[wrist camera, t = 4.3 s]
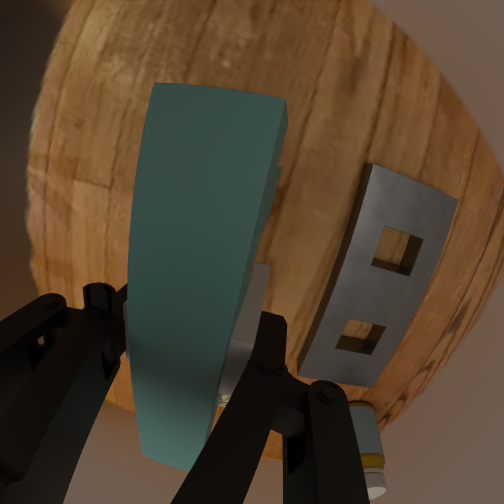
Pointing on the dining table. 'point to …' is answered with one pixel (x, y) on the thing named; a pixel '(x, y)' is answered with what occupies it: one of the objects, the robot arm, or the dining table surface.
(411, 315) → the slotted metal plate
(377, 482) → the bottle
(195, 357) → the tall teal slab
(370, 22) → the dining table surface
